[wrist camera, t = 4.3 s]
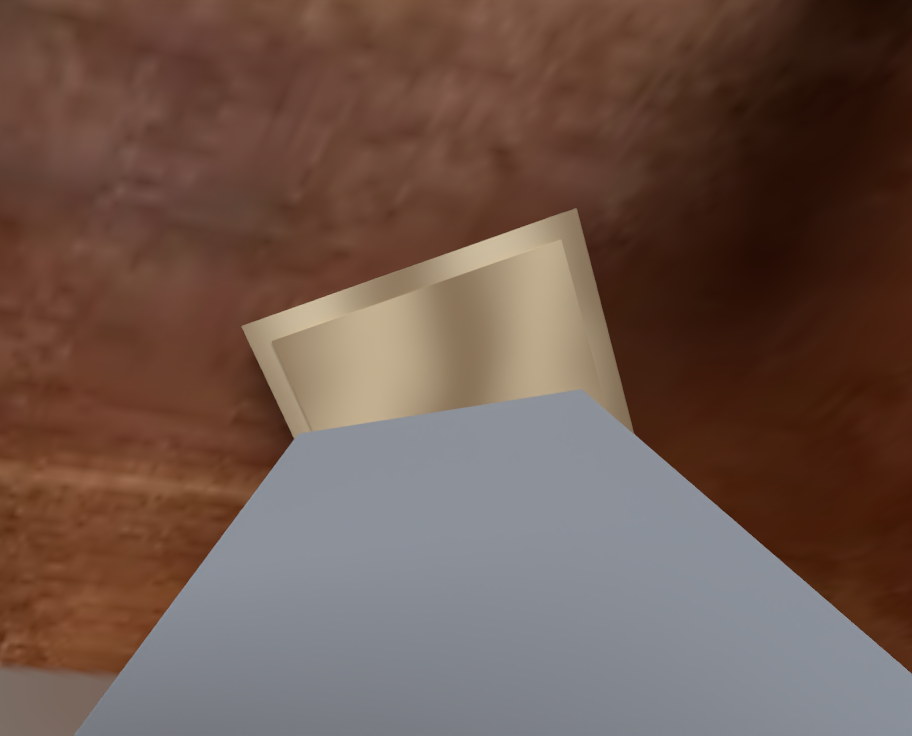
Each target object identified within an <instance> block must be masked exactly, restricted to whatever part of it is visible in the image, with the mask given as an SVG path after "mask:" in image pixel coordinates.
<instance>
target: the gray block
mask: <svg viewBox="0 0 912 736" xmlns="http://www.w3.org/2000/svg"><path fill="white" fill-rule="evenodd" d="M74 736H912V674H911V673H910V672H909V671H908V670H907V669H905V668H904V667H903V666H902V665H901V664H900V663H899V662H897V661H896V660H895V659H894V658H893V657H892V656H890V655H889V654H888V653H887V652H886V651H885V650H883V649H882V648H881V647H880V646H879V645H878V644H877V643H875V642H874V641H873V640H872V639H871V638H870V637H868V636H867V635H866V634H865V633H864V632H863V631H861V630H860V629H859V628H858V627H857V626H856V625H854V624H853V623H852V622H851V621H850V620H849V619H848V618H846V617H845V616H844V615H843V614H842V613H841V612H839V611H838V610H837V609H836V608H835V607H834V606H832V605H831V604H830V603H829V602H828V601H827V600H826V599H824V598H823V597H822V596H821V595H820V594H819V593H817V592H816V591H815V590H814V589H813V588H812V587H810V586H809V585H808V584H807V583H806V582H805V581H804V580H802V579H801V578H800V577H799V576H798V575H797V574H795V573H794V572H793V571H792V570H791V569H790V568H788V567H787V566H786V565H785V564H784V563H783V562H781V561H780V560H779V559H778V558H777V557H776V556H775V555H773V554H772V553H771V552H770V551H769V550H768V549H766V548H765V547H764V546H763V545H762V544H761V543H759V542H758V541H757V540H756V539H755V538H754V537H753V536H751V535H750V534H749V533H748V532H747V531H746V530H744V529H743V528H742V527H741V526H740V525H739V524H737V523H736V522H735V521H734V520H733V519H732V518H731V517H729V516H728V515H727V514H726V513H725V512H724V511H722V510H721V509H720V508H719V507H718V506H717V505H715V504H714V503H713V502H712V501H711V500H710V499H708V498H707V497H706V496H705V495H704V494H703V493H702V492H700V491H699V490H698V489H697V488H696V487H695V486H693V485H692V484H691V483H690V482H689V481H688V480H686V479H685V478H684V477H683V476H682V475H681V474H680V473H678V472H677V471H676V470H675V469H674V468H673V467H671V466H670V465H669V464H668V463H667V462H666V461H664V460H663V459H662V458H661V457H660V456H659V455H657V454H656V453H655V452H654V451H653V450H652V449H651V448H649V447H648V446H647V445H646V444H645V443H644V442H642V441H641V440H640V439H639V438H638V437H637V436H635V435H634V434H633V433H632V432H631V431H630V430H629V429H627V428H626V427H625V426H624V425H623V424H622V423H620V422H619V421H618V420H617V419H616V418H615V417H613V416H612V415H611V414H610V413H609V412H608V411H607V410H605V409H604V408H603V407H602V406H601V405H600V404H598V403H597V402H596V401H595V400H594V399H593V398H591V397H590V396H589V395H588V394H587V393H586V392H584V391H583V390H582V389H580V390H574V391H567V392H561V393H554V394H548V395H542V396H535V397H529V398H523V399H516V400H510V401H503V402H497V403H491V404H484V405H478V406H472V407H465V408H459V409H453V410H446V411H440V412H433V413H427V414H421V415H414V416H408V417H402V418H395V419H389V420H382V421H376V422H370V423H363V424H357V425H351V426H344V427H338V428H332V429H325V430H319V431H312V432H306V433H300V434H298V435H297V436H296V438H295V439H294V440H293V442H292V443H291V444H290V446H289V447H288V448H287V450H286V451H285V452H284V454H283V455H282V457H281V458H280V459H279V461H278V462H277V463H276V465H275V466H274V467H273V469H272V470H271V471H270V473H269V474H268V475H267V477H266V478H265V479H264V481H263V482H262V483H261V485H260V486H259V487H258V489H257V490H256V491H255V493H254V494H253V495H252V497H251V498H250V499H249V501H248V502H247V503H246V505H245V506H244V508H243V509H242V510H241V512H240V513H239V514H238V516H237V517H236V518H235V520H234V521H233V522H232V524H231V525H230V526H229V528H228V529H227V530H226V532H225V533H224V534H223V536H222V537H221V538H220V540H219V541H218V542H217V544H216V545H215V546H214V548H213V549H212V550H211V552H210V553H209V554H208V556H207V557H206V559H205V560H204V561H203V563H202V564H201V565H200V567H199V568H198V569H197V571H196V572H195V573H194V575H193V576H192V577H191V579H190V580H189V581H188V583H187V584H186V585H185V587H184V588H183V589H182V591H181V592H180V593H179V595H178V596H177V597H176V599H175V600H174V601H173V603H172V604H171V606H170V607H169V608H168V610H167V611H166V612H165V614H164V615H163V616H162V618H161V619H160V620H159V622H158V623H157V624H156V626H155V627H154V628H153V630H152V631H151V632H150V634H149V635H148V636H147V638H146V639H145V640H144V642H143V643H142V644H141V646H140V647H139V648H138V650H137V651H136V652H135V654H134V655H133V657H132V658H131V659H130V661H129V662H128V663H127V665H126V666H125V667H124V669H123V670H122V671H121V673H120V674H119V675H118V677H117V678H116V679H115V681H114V682H113V683H112V685H111V686H110V688H109V689H108V690H107V691H106V693H105V694H104V696H103V697H102V698H101V699H100V701H99V702H98V704H97V705H96V706H95V708H94V709H93V710H92V712H91V713H90V714H89V716H88V717H87V718H86V720H85V721H84V722H83V724H82V725H81V727H80V728H79V729H78V730H77V732H76V733H75V734H74Z"/></svg>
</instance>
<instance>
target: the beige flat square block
mask: <svg viewBox="0 0 912 736" xmlns="http://www.w3.org/2000/svg"><path fill="white" fill-rule="evenodd" d="M241 327H242V329H243V331H244V333H245V335H246V337H247V339H248V342H249V344H250V346H251V348H252V350H253V352H254V354H255V356H256V359H257V361H258V363H259V365H260V367H261V369H262V371H263V373H264V376H265V378H266V380H267V382H268V384H269V386H270V388H271V390H272V393H273V395H274V397H275V399H276V401H277V403H278V405H279V407H280V410H281V412H282V414H283V416H284V418H285V420H286V422H287V425H288V427H289V429H290V431H291V433H292V435H293V437H294V439H295V438H296V436H297V435H298V434H300V433H306V432H312V431H319V430H325V429H332V428H338V427H344V426H351V425H357V424H363V423H370V422H376V421H382V420H389V419H395V418H402V417H408V416H414V415H421V414H427V413H433V412H440V411H446V410H453V409H459V408H465V407H472V406H478V405H484V404H491V403H497V402H503V401H510V400H516V399H523V398H529V397H535V396H542V395H548V394H554V393H561V392H567V391H574V390H580V389H582V390H583V391H584V392H586V393H587V394H588V395H589V396H590V397H591V398H593V399H594V400H595V401H596V402H597V403H598V404H600V405H601V406H602V407H603V408H604V409H605V410H607V411H608V412H609V413H610V414H611V415H612V416H613V417H615V418H616V419H617V420H618V421H619V422H620V423H622V424H623V425H624V426H625V427H626V428H627V429H629V430H630V431H631V432H632V433H633V434H634V431H633V428H632V424H631V420H630V416H629V412H628V408H627V404H626V400H625V396H624V392H623V388H622V384H621V380H620V377H619V373H618V369H617V365H616V361H615V357H614V353H613V349H612V345H611V341H610V337H609V333H608V329H607V325H606V322H605V318H604V314H603V310H602V306H601V302H600V298H599V294H598V290H597V286H596V282H595V278H594V274H593V271H592V267H591V263H590V259H589V255H588V251H587V247H586V243H585V239H584V235H583V231H582V227H581V223H580V220H579V216H578V212H577V208H576V209H573V210H570V211H567V212H564V213H561V214H558V215H555V216H552V217H550V218H547V219H544V220H541V221H538V222H535V223H533V224H530V225H527V226H524V227H521V228H518V229H516V230H513V231H510V232H507V233H504V234H501V235H498V236H496V237H493V238H490V239H487V240H484V241H481V242H479V243H476V244H473V245H470V246H467V247H464V248H462V249H459V250H456V251H453V252H450V253H447V254H445V255H442V256H439V257H436V258H433V259H430V260H427V261H425V262H422V263H419V264H416V265H413V266H410V267H408V268H405V269H402V270H399V271H396V272H393V273H391V274H388V275H385V276H382V277H379V278H376V279H374V280H371V281H368V282H365V283H362V284H359V285H356V286H354V287H351V288H348V289H345V290H342V291H339V292H337V293H334V294H331V295H328V296H325V297H322V298H320V299H317V300H314V301H311V302H308V303H305V304H303V305H300V306H297V307H294V308H291V309H288V310H285V311H283V312H280V313H277V314H274V315H271V316H268V317H266V318H263V319H260V320H257V321H255V322H252V323H249V324H246V325H243V326H241Z"/></svg>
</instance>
